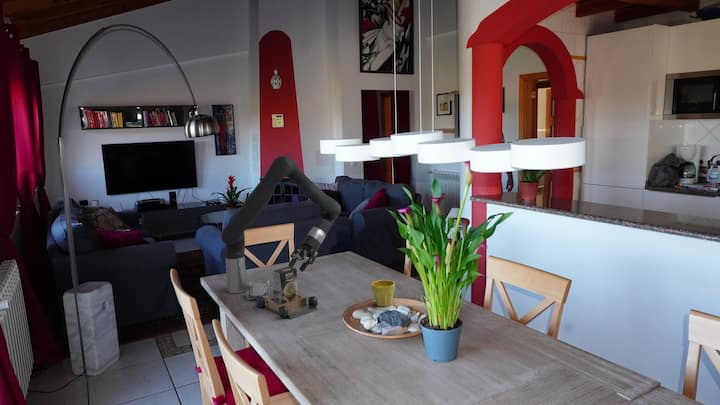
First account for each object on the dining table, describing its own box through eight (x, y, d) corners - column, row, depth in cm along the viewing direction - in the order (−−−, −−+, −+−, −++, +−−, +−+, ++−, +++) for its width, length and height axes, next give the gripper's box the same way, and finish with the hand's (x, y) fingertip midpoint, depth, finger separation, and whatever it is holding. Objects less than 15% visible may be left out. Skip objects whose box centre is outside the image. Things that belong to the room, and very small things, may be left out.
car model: (270, 285, 257) (270, 275, 256) (269, 301, 233) (269, 290, 233) (248, 286, 255) (247, 277, 255) (245, 303, 232) (244, 292, 231)
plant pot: (368, 306, 220) (367, 285, 219) (378, 299, 229) (377, 278, 228) (389, 310, 215) (389, 288, 214) (399, 302, 224) (398, 281, 223)
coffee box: (283, 309, 218) (281, 273, 216) (273, 305, 222) (271, 270, 220) (299, 302, 225) (297, 268, 222) (289, 300, 229) (287, 265, 226)
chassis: (254, 305, 227) (253, 295, 226) (285, 295, 238) (285, 285, 238) (287, 320, 208) (287, 308, 207) (320, 309, 220) (319, 298, 219)
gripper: (300, 232, 233) (280, 261, 228) (319, 236, 223) (299, 267, 217) (309, 241, 238) (291, 270, 232) (328, 246, 227) (310, 276, 222)
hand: (295, 268), depth 225 cm, fingers open, 8 cm apart
